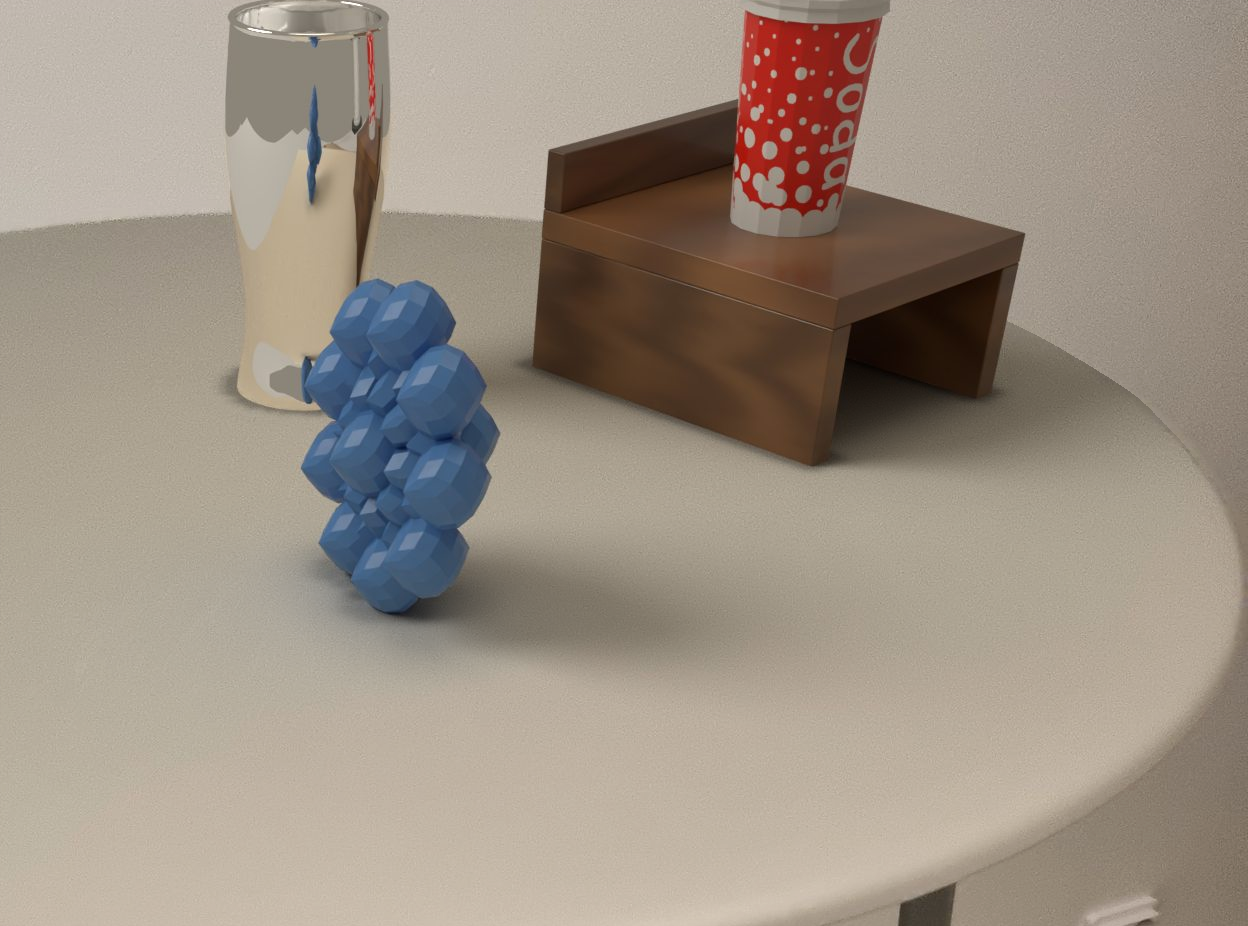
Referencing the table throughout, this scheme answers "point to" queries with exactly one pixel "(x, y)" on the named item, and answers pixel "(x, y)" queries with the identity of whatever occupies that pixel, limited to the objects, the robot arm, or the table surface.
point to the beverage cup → (800, 111)
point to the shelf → (752, 289)
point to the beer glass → (303, 176)
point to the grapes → (398, 443)
